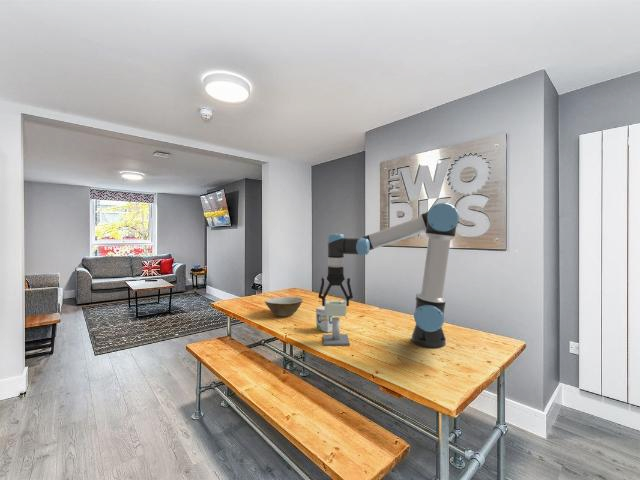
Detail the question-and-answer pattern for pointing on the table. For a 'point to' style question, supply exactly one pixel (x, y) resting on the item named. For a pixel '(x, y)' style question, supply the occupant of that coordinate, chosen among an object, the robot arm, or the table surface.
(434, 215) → the robot arm
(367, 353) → the table surface
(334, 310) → the collar
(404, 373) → the table surface
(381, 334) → the table surface
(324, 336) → the post
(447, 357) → the table surface
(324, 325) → the ink box
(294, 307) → the bowl
